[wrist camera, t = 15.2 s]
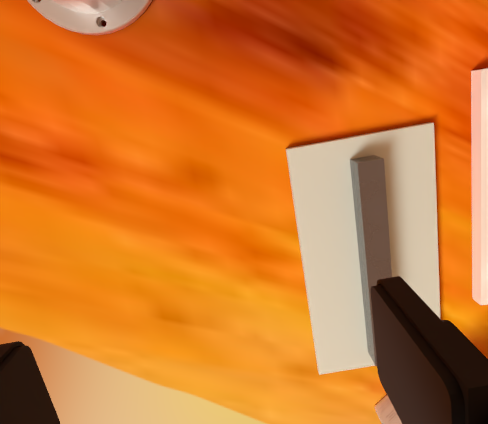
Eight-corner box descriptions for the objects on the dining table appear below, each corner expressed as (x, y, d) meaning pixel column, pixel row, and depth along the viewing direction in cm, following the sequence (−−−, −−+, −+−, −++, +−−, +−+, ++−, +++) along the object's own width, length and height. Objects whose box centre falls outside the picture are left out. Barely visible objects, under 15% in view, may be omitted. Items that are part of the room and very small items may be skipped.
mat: (285, 148, 37) (286, 149, 36) (429, 122, 37) (433, 122, 36) (317, 369, 44) (319, 374, 44) (438, 349, 44) (441, 354, 43)
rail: (349, 159, 37) (357, 163, 34) (374, 154, 37) (384, 158, 34) (367, 351, 43) (375, 366, 41) (389, 348, 43) (397, 362, 40)
